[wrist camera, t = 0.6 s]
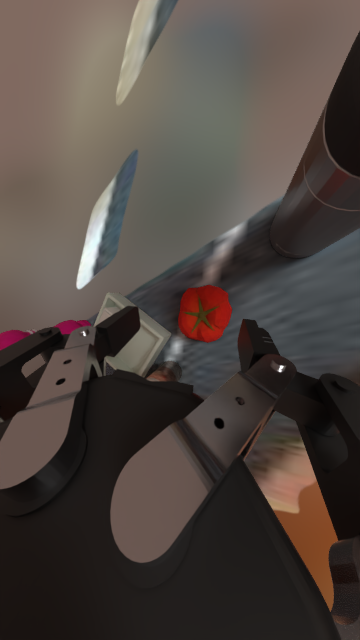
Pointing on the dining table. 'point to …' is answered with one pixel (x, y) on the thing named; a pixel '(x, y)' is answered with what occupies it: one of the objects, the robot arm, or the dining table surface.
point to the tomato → (204, 313)
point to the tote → (136, 340)
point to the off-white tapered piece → (108, 313)
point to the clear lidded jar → (166, 372)
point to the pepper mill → (15, 335)
